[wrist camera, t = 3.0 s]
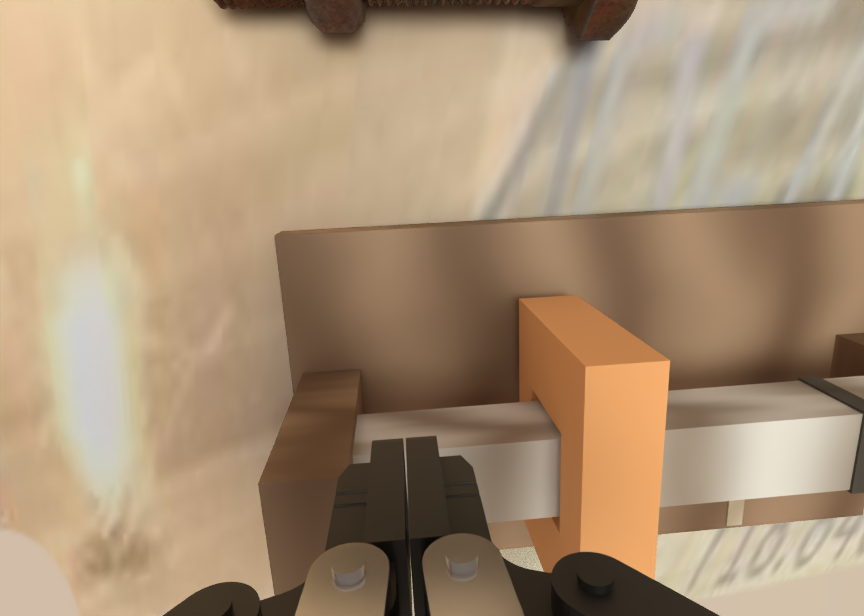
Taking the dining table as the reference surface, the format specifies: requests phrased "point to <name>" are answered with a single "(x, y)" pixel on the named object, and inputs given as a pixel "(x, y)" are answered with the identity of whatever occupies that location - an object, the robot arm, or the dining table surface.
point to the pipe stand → (618, 300)
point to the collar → (596, 429)
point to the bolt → (345, 4)
